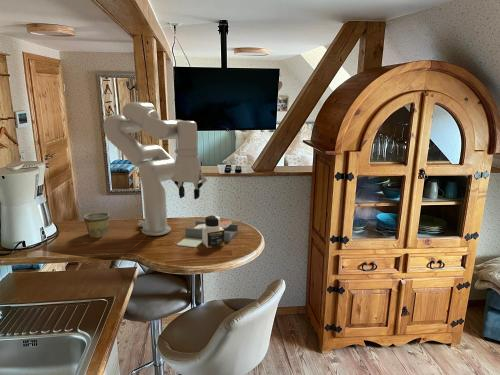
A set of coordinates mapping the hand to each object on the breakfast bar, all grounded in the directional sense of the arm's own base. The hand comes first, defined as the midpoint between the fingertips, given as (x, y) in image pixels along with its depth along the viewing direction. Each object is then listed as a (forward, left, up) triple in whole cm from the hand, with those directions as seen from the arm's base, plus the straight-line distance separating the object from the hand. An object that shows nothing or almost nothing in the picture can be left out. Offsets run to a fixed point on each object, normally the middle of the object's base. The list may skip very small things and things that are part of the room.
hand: (189, 197), depth 148 cm
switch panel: (+5, +12, -19) cm, 23 cm away
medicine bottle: (+9, +2, -20) cm, 22 cm away
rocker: (+5, +12, -15) cm, 20 cm away
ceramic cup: (-40, -4, -20) cm, 45 cm away
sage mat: (0, 0, -19) cm, 19 cm away
